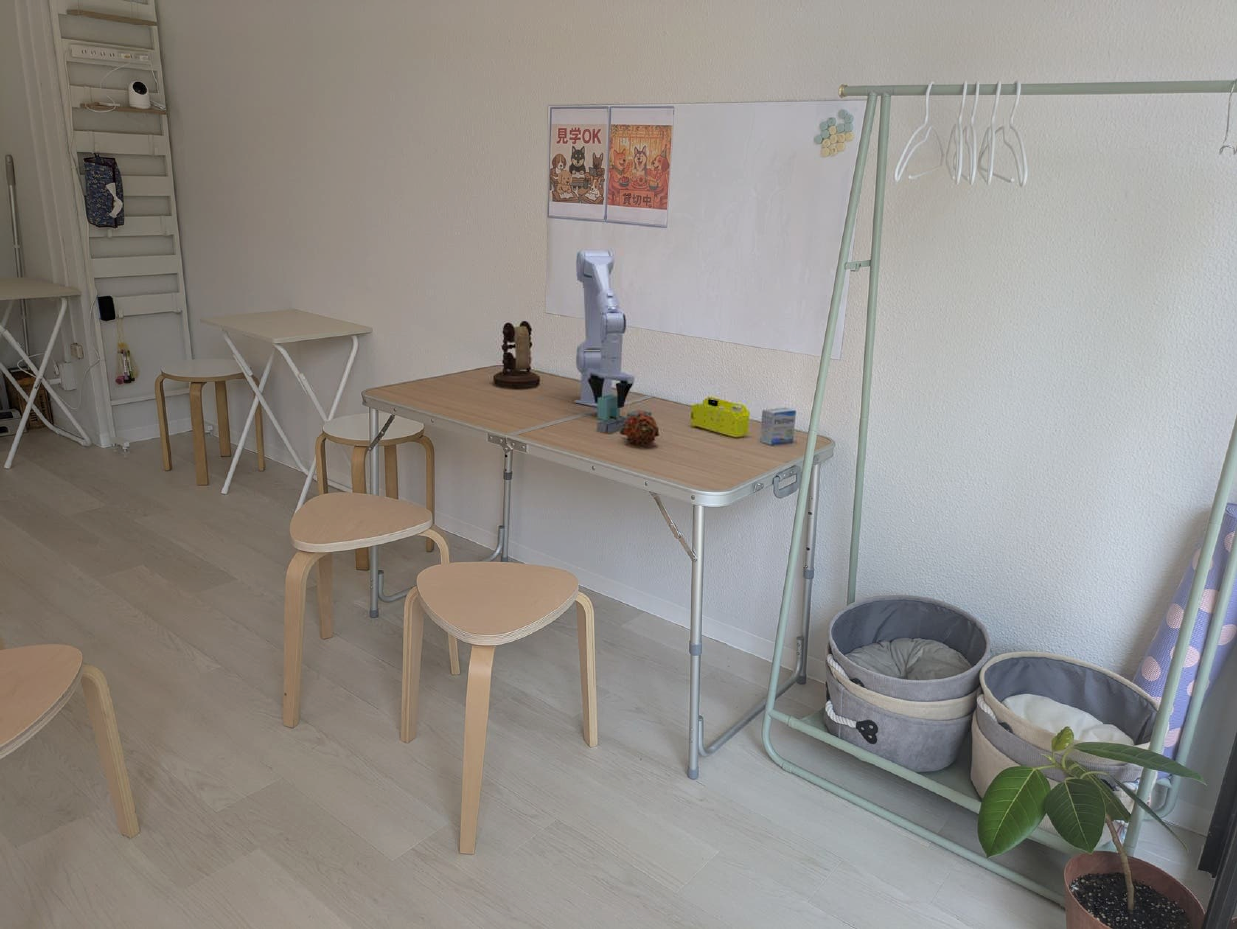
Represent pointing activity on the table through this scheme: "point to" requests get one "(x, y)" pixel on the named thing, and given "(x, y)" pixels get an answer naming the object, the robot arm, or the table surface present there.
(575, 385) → the table surface
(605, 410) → the clip
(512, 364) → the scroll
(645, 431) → the brown scaly rounded piece
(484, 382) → the table surface
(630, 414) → the rail
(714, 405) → the yellow toy chassis
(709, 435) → the table surface
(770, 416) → the medicine box
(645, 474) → the table surface
